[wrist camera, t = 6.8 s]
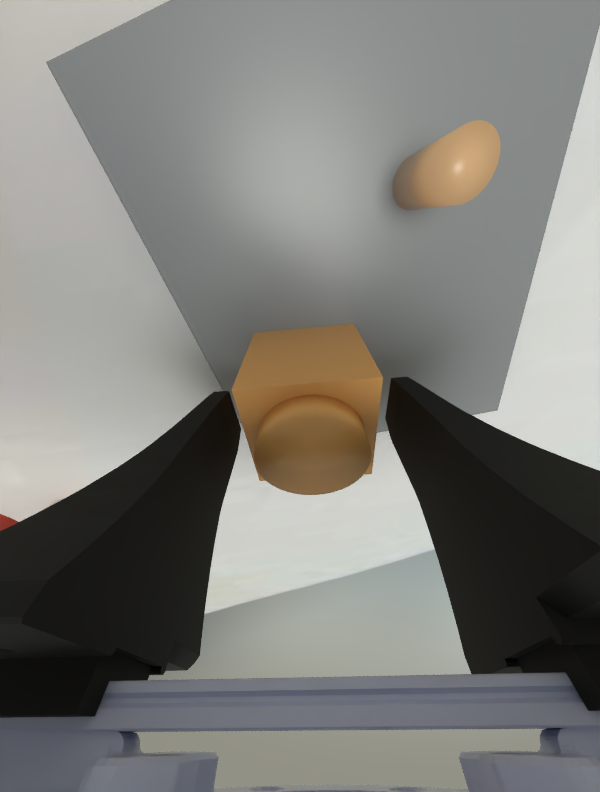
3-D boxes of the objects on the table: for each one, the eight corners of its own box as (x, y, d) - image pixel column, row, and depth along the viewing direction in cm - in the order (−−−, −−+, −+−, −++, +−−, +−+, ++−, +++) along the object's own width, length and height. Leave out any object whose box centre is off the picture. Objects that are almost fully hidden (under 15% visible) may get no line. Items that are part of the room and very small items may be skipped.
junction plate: (259, 443, 16) (250, 498, 13) (74, 80, 7) (-106, -32, 4) (486, 399, 14) (541, 452, 11) (615, -178, 5) (1121, -816, 2)
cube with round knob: (270, 409, 13) (256, 504, 9) (254, 332, 11) (222, 411, 6) (351, 403, 13) (378, 497, 9) (354, 323, 11) (394, 397, 6)
